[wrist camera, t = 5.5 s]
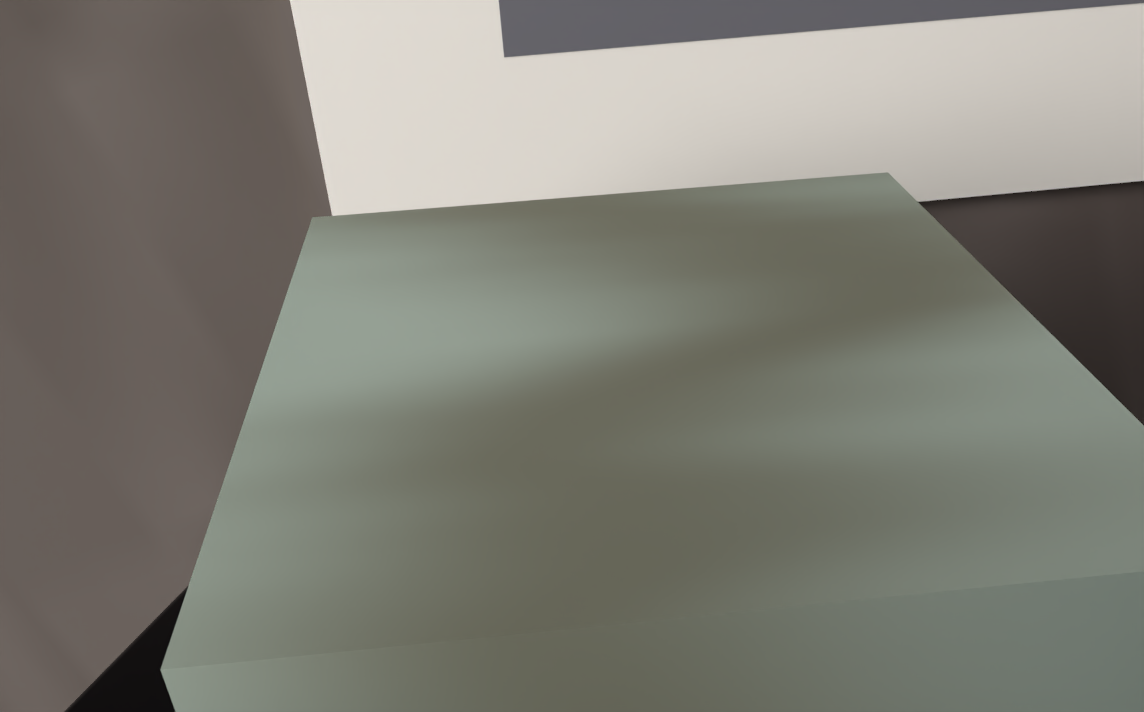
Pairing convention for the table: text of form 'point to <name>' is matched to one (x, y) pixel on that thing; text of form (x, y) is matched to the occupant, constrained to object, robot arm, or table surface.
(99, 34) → the table surface
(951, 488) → the sage block
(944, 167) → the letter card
